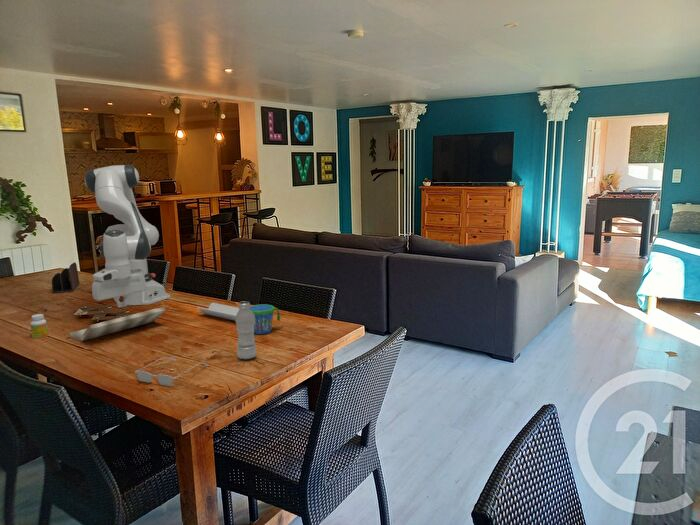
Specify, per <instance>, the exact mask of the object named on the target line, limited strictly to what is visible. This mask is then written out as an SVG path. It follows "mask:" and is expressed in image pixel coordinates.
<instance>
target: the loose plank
mask: <svg viewBox="0 0 700 525" xmlns="http://www.w3.org/2000/svg"><path fill="white" fill-rule="evenodd" d="M165 311H166V308H165V306H162V307H157V308H154V309H149V310H145V311H141V312H138V313H134V314H130V315H129V314H128V315H125V316H122V317H117V318H112V319H109V320H105V321H101V322H99V323H95V324H90V325H89V326H88V327H87V328H86V329H87V330H86V331H85V332H84V334H83V335H82V336H81V337H80V339H81V342H85V341H88V340H91V339H95V338H99V337H103V336H106V335H110V334H114V333H117V332H120V331H125V330H128V329H131V328H132V329H133V328H135V327H138V326H143V325H146V324H150V323H153V322H155V321H156V320H158V318H159V317H160V316H161V315H162V314H163V313H164V312H165Z"/></svg>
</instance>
